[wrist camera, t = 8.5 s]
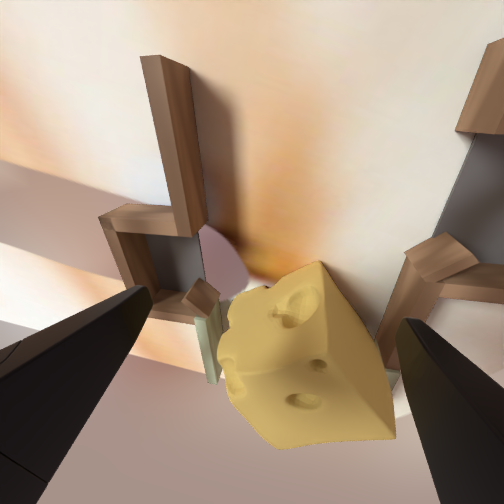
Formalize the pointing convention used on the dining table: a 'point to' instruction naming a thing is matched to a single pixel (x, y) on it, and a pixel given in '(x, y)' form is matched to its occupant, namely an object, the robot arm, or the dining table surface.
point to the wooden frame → (417, 258)
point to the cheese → (305, 364)
